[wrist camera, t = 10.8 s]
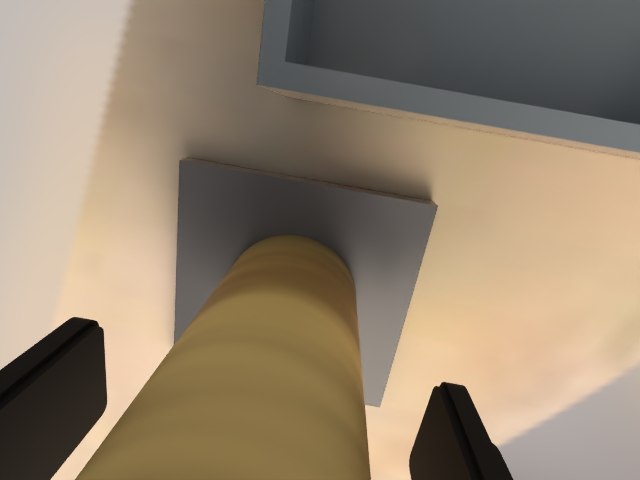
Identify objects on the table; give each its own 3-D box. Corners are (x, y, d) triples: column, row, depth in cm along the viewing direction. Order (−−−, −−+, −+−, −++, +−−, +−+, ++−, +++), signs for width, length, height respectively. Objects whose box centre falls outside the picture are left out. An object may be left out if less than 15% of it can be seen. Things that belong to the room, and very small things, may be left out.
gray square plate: (188, 157, 14) (179, 160, 13) (432, 201, 14) (437, 205, 13) (180, 359, 17) (173, 370, 17) (378, 394, 17) (379, 407, 17)
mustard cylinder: (233, 223, 14) (9, 443, 5) (367, 247, 14) (423, 516, 5) (223, 337, 16) (49, 661, 6) (342, 358, 16) (343, 713, 6)
